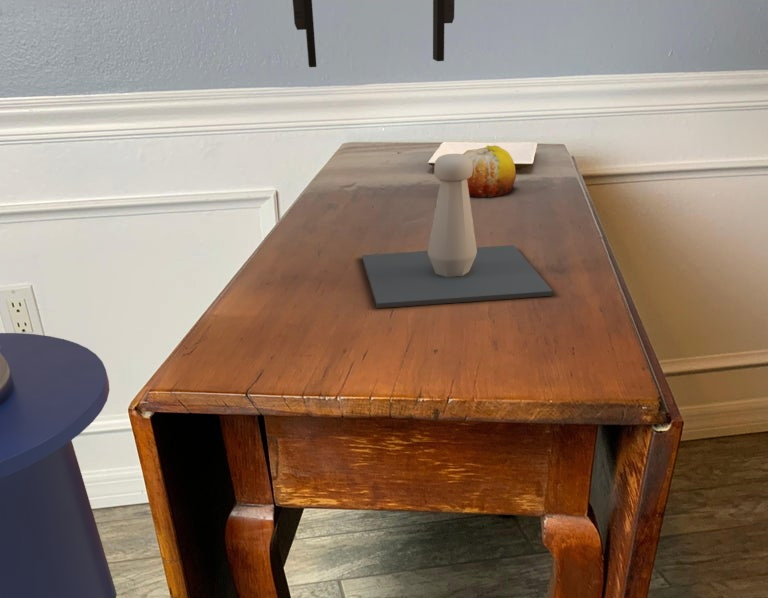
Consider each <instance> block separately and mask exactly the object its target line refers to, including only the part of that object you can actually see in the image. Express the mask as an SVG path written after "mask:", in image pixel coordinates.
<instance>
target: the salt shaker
mask: <svg viewBox="0 0 768 598" xmlns="http://www.w3.org/2000/svg"><path fill="white" fill-rule="evenodd" d="M433 169H434V171H433V172H434V177H435V178H436V179H437V180H440V182H439V188H438V192H437V198H436V204H435V210H434V215H433V219H432V224H431V225H432V226H431V229H430V236H429V241H428V247H427V251H428V256H429V258H430V260H431V263H432V266H433V268H434V271H435V273H436V274H438V275H442V276H446V277H453V276H463V275H464V274H466V273H467V272H469V270H470V268H471V266H472V264H473V261H474V259H475V257H476V253H477V248H478V247H477V242H476V235H475V227H474V220H473V213H472V204H471V199H470V198H471V196H470V195H469V190H468V183H467V179H468V178H470V177H471V176H472V173H473V163H472V160H471V159H470V158H469V157H468V156H466V155H463V154H446V155H442V156H440V157H438V159H437V160H436V161H435V166H433Z"/></svg>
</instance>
